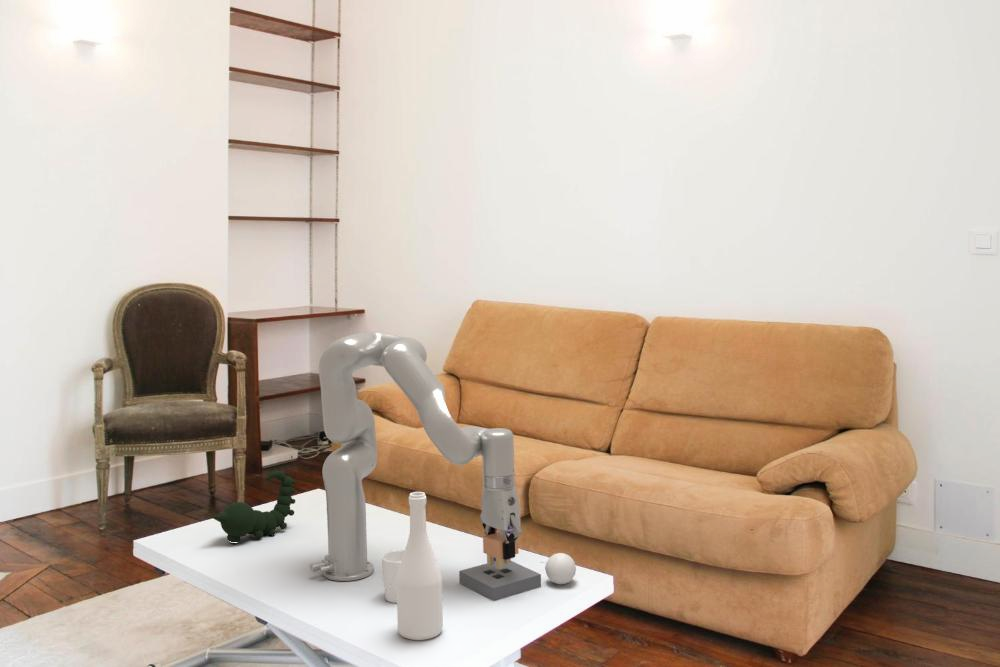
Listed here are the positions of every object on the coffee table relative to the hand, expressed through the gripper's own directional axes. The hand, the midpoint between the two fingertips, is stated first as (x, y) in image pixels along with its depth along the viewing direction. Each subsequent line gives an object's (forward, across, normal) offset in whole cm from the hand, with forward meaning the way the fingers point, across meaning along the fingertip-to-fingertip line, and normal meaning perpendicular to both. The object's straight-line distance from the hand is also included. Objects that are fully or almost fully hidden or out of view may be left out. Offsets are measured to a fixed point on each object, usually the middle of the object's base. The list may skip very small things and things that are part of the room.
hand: (500, 553), depth 219 cm
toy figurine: (+7, +71, +33) cm, 79 cm away
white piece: (+8, -7, -12) cm, 16 cm away
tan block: (+3, 0, 0) cm, 3 cm away
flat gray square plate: (+8, 0, 0) cm, 8 cm away
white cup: (+8, +8, +23) cm, 26 cm away
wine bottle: (+8, -11, +29) cm, 32 cm away
